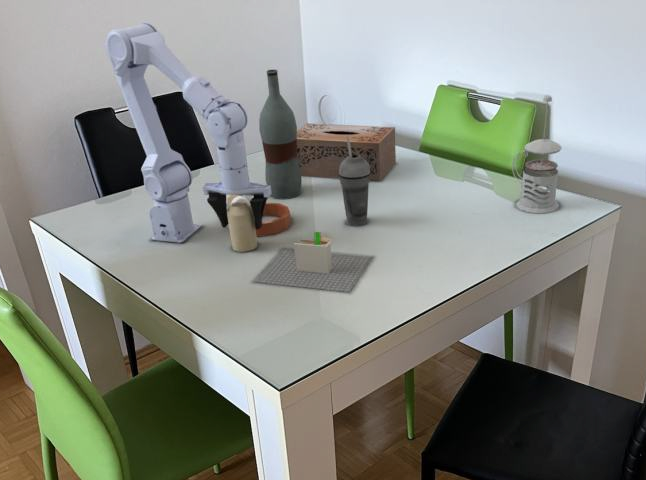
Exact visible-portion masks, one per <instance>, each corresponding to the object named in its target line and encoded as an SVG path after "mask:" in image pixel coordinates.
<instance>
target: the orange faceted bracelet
mask: <svg viewBox="0 0 646 480" xmlns="http://www.w3.org/2000/svg"><path fill="white" fill-rule="evenodd" d="M249 206H251V205H249ZM265 216H272V217H273V216H274V217H278V218H275V219H273V220H268V221H262V226H261V228H260V229H256V228H255V230H256V237H264V236H272V235H276V234H278V233H281V232H284V231H286V230H287V229H288V228H289V227H290V226H291V225H292V218H291V211H290V208H289V206H287V205H285V204H282V203H279V202H267V201H266V204H265V207H264V211H263V217H265Z"/></svg>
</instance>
